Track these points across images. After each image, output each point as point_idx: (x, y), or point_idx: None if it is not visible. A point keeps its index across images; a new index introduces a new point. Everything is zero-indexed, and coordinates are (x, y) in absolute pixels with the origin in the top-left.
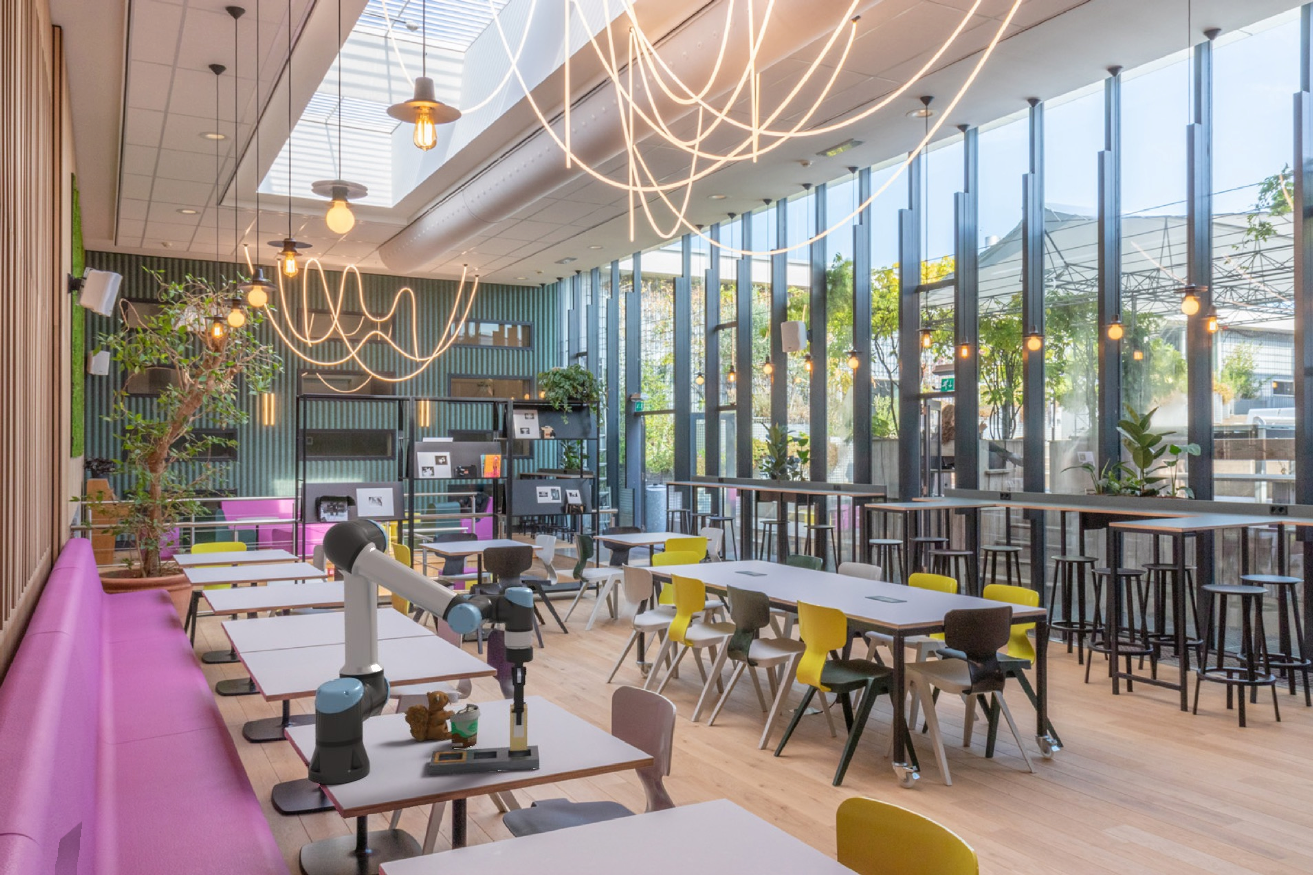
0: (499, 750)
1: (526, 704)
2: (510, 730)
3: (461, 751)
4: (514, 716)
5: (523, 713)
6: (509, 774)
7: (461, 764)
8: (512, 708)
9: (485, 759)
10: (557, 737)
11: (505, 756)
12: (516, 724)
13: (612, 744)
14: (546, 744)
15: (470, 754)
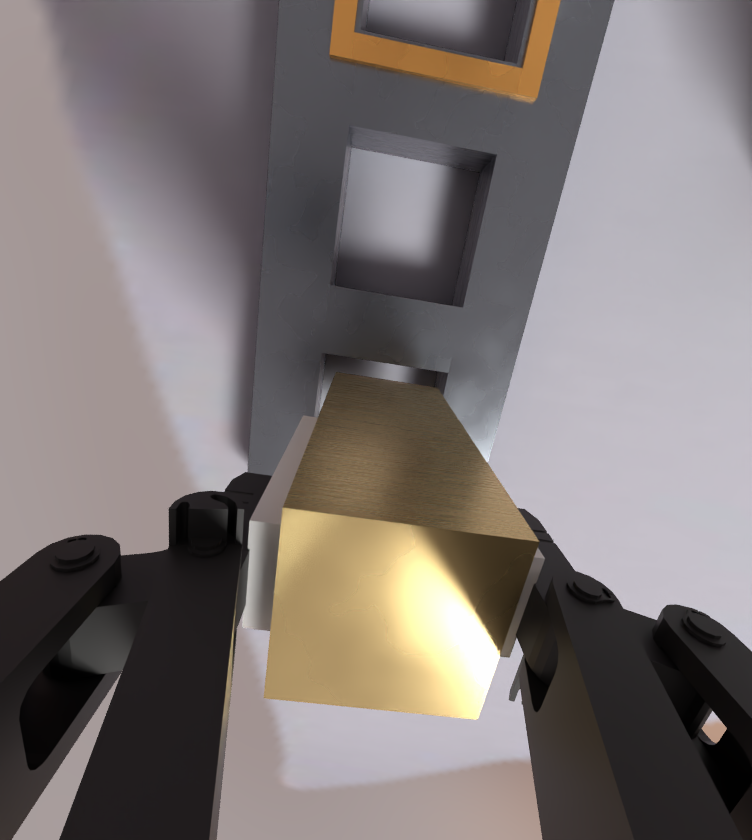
0: (468, 324)
1: (448, 710)
2: (320, 411)
3: (541, 53)
4: (260, 502)
5: (245, 610)
6: (211, 333)
7: (279, 19)
8: (301, 539)
9: (323, 210)
10: (655, 610)
11: (342, 340)
12: (237, 478)
13: (465, 749)
14: (585, 557)
15: (462, 120)
